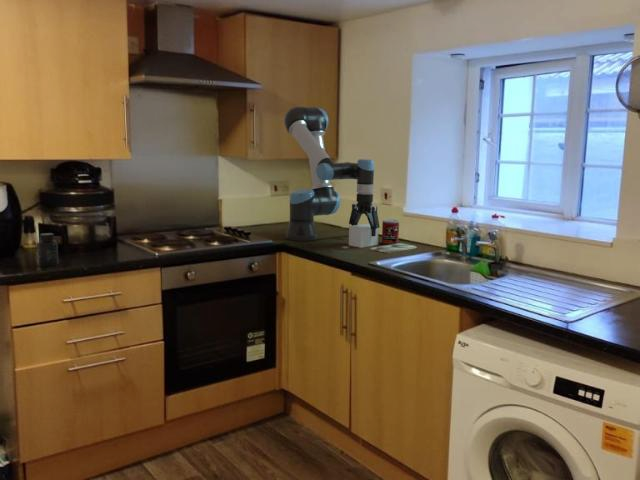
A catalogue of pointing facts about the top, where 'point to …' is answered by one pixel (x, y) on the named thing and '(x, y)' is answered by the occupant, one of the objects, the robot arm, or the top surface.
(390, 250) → the board
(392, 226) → the canned food
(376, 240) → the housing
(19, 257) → the top surface
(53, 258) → the supplement bottle
